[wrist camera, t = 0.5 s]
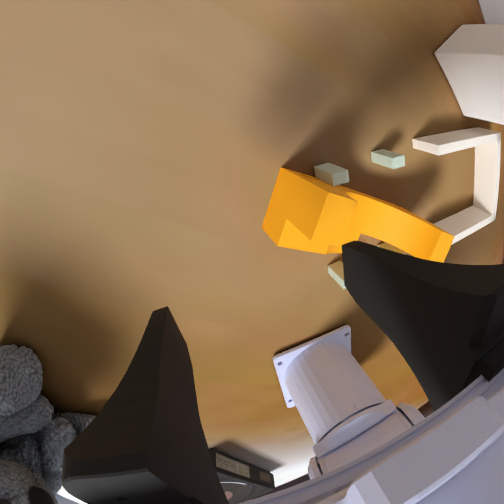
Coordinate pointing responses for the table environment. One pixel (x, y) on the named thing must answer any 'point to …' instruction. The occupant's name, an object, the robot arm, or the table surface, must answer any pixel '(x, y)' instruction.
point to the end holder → (483, 181)
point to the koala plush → (31, 431)
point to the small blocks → (333, 177)
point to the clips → (392, 162)
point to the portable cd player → (240, 478)
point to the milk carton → (476, 69)
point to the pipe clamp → (344, 219)
